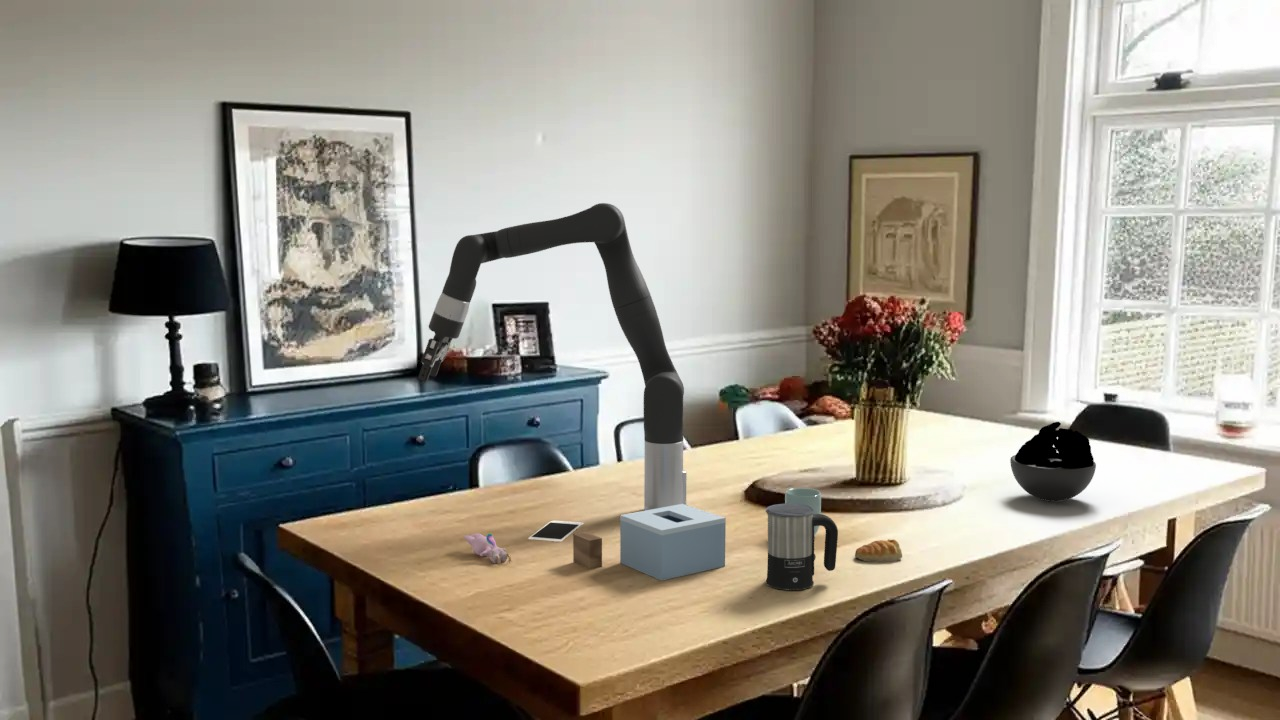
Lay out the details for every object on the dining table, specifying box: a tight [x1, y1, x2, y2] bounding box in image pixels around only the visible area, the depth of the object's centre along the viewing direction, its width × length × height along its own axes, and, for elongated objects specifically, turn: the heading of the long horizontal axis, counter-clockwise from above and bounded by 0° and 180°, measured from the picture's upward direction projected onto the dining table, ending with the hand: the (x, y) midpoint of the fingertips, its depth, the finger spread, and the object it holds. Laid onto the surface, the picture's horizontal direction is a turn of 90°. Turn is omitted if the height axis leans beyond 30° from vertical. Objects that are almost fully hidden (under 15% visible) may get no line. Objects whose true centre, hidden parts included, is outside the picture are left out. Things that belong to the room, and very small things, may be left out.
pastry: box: [854, 538, 903, 563], centre depth 242 cm, size 9×7×4 cm
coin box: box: [619, 504, 727, 581], centre depth 237 cm, size 16×14×10 cm
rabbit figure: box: [463, 532, 512, 565], centre depth 242 cm, size 6×6×15 cm
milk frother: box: [765, 503, 839, 591], centre depth 228 cm, size 14×16×15 cm
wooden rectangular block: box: [572, 531, 603, 570], centre depth 237 cm, size 3×6×6 cm, turn 36°
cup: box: [784, 487, 822, 537], centre depth 258 cm, size 8×8×10 cm
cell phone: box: [527, 520, 584, 543], centre depth 262 cm, size 8×16×1 cm, turn 164°
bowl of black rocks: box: [1009, 421, 1097, 502], centre depth 290 cm, size 20×20×19 cm
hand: (426, 377), depth 280 cm, fingers open, 8 cm apart
